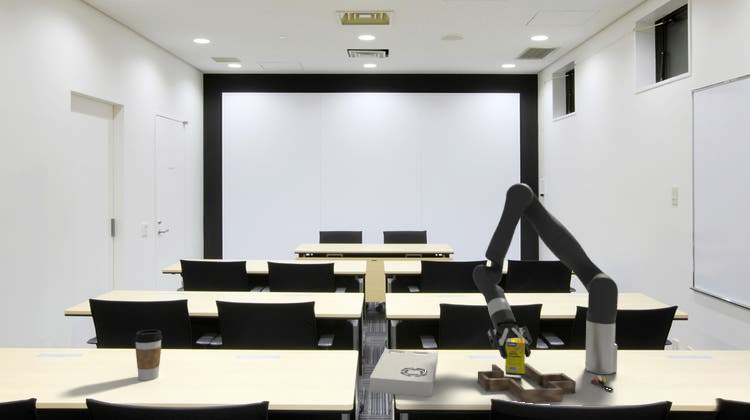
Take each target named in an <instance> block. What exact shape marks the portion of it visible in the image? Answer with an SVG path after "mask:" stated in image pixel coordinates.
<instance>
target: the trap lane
mask: <svg viewBox="0 0 750 420" xmlns="http://www.w3.org/2000/svg"><path fill="white" fill-rule="evenodd" d="M524 376H526V377H527V378H528V379H530V380H531V381H532V382H534V383H535V384H536V385H537V386H538V387H541V388H530V389H526V388H524V386H522V385H521V384H519V383H518V382H517V381H515V380H514V379H513V378H512V377H505V371H504V370H503V369H502V368H501V367H499V366H498V365H497V364H495V363H494V364H491V370H487V371H486V370H482V371H481V370H480V371H477V383H478V384H479V385H480V387H482V388H483V389H484V390H485V391H486V392H502V391H503V392H504V391H509V392H510V393H511V394H512V395H513V396H514V397H515V398H516V399H518V400H519V402H521V401H522V402H531V403H532V404H533V403H552V402H563V400H564V398H563V397H564V396H563V395H564V394H576V388H577V387H576V381H575V380H574V379H573V378H571V377H569V376H568V375H566V374H565V373H563V372H561V373H560V372H558V373H557V372H556V373H541V372H540V371H538V370H537V369H536V368H534V367H533V366H531V365H530V364H528V363H527V362H525V374H524ZM522 402H521V403H522ZM531 403H530V404H531Z"/></svg>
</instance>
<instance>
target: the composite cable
mask: <svg viewBox="0 0 750 420" xmlns="http://www.w3.org/2000/svg"><path fill="white" fill-rule="evenodd" d="M590 383H591V384H592V385H595V384H596V385H595V386H597V385H599V386H598V387H600V386H601V387H602V388H601V387H600V388H601V389H603V388H604V389H605V390H607V391H613V392H614V389H613V387H611V386H608V385H605V384H606V377H602V376H601V375H600V374H599V375H597V377H596V376H592V379H591V381H590ZM606 388H608V389H611V390H608V389H606ZM604 389H603V390H604ZM605 390H604V391H605ZM607 391H606V392H607Z"/></svg>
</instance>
